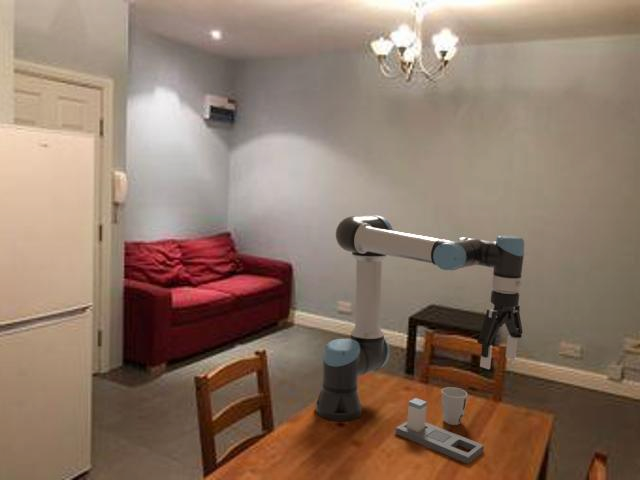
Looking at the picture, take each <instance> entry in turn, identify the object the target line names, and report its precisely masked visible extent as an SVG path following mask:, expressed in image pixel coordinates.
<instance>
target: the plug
mask: <svg viewBox="0 0 640 480" xmlns="http://www.w3.org/2000/svg"><path fill="white" fill-rule="evenodd" d="M427 404H428V402H427V401H426V400H423V399H420V398H418V397H415V398H413V399H411V400H409V401H408V409H407V420H406V422H407V428H408V429H410V430H413V431H415V432H418V433H420V432H421V431H423V430H425V422H426V418H427V407H428V405H427Z"/></svg>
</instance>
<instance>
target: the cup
mask: <svg viewBox="0 0 640 480" xmlns="http://www.w3.org/2000/svg"><path fill="white" fill-rule="evenodd" d="M467 399H468V393H467V391H466V390H465V389H462V388H458V387H444V388H442V389H441V411H442V417H443V420H444V422H445V423H446V424H447V425H451V426H457V425H459V424H461V421H462V420H463V417H464V414H465V409H466V406H467Z"/></svg>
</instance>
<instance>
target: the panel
mask: <svg viewBox="0 0 640 480" xmlns="http://www.w3.org/2000/svg"><path fill="white" fill-rule="evenodd" d="M395 434H396V435H398V436H400V437H402V438H405V439H408V440H410V441H412V442H414V443H417V444H419V445H421V446H424V447H426V448H428V449H431V450H433V451H436V452H437V453H438V452H439V453H440V454H443V455H446V456H447V457H450V458H451V459H454V460H458V461H460V462H462V463H464V464H467V465H468V464H469V463H471V462H472V461H473V460H475V459H476V458H477V457H478V456H479V455H481V454H482V453H484V446H485V445H484V444H483V443H479V442H477V441H474V440H472V439H469V438H467V437H464V436H462V435H459V434H457V433H453V432H452V431H449V430H446V429H443V428H441V427H439V426H436V425H434V424H431V423H428V422H426V421H425V430H423V431H421V432H420V433H418V432H415V431H413V430H410V429H408V428H407V421H405V422H403V423H401V424H399V425H398V426H396V427H395ZM457 447H461V448H464V449H466V450H469V451H465V450H461V449H460V448H457Z"/></svg>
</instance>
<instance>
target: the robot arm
mask: <svg viewBox="0 0 640 480" xmlns="http://www.w3.org/2000/svg"><path fill="white" fill-rule="evenodd" d="M335 239H336V241H337V244H338V246H339V247H340V248H341V249H343V250H344V251H347V252H350V253H351V252H352V253H351V256H353V257H354V259H355V261H356V264H355V265H356V267H355V268H356V269H355V270H356V273H355V305H354V306H355V309H354V310H355V313H354V315H355V316H354V318H355V319H354V328H353V329H352V330H351V331H350V335H349V336H350V338H336V339H332V340H331V341H329V342H328V343H326V345H325V347H324V352H323V356H322V360H323V364H322V384H321V385H322V387H321V390H320V392H319V395H318V397H317V401H316V403H315V412H316V414H317V413H318V414H317V415H319V417H321V418H324V419H326V420H330V421H335V422H348V421H353V420H356V419H358V418H359V417H360V416H361V415H362V408H363V407H362V403H361V400H360V396H359V392H358V386H359V377H361V376H363V375H366V374H369V373H371V372H375V371H377V370H379V369H381V368H382V367H383V366H385V365H386V364H387V362H388V361H389V359H390V354H391V349H390V345H389V343H388V342H387V339H386V338H385V333H384V332H383V330H381V329H380V328H381V302H382V301H381V299H382V298H381V295H382V294H381V293H382V291H381V290H382V269H383V268H382V263H383V262H382V261H383V260H384V259H385V258H386V257H388V256H389V257H393V258H399V259H403V260H409V261H414V262H419V263H424V264H429V265H432V266H433V265H434V266H437V267H438V268H439V269H441V270H443V271H457V270H459V269H463V268H468V267H473V266H480V267H488V268H492V269H493V273H492V274H493V275H492V283H491V288H492V290H491V293H490V302H491V304H493V309H486V314H485V318H484V321H483V324H482V327H481V330H480V333H479V335H478V338H477V342H476V343H477V344H480V345H481V351H480V352H481V353H480V364H479V367H480V368H484V369H486V370H490V369H491V364H492V363H491V362H492V353H493V346H492V344H493V342H494V339H495V337H496V335H497V334H498V331H499V330H500V328H501V327H503V325H504V324H505V327H506V329H507V332H508V334H509V335H507V339H506V348H505V349H506V350H505V358H507V359H509V360H513V361H514V360H516V355H517V345H518V339H521V338H522V334H523V326H522V321H521V315H520V311H521V309H520V307H521V305H519V302H520V292H519V291H520V289H521V285H522V282H521V281H522V272H523V271H522V270H523V265H524V264H523V263H524V256H525V240H524V239H523V238H522V237H520V236H515V235H506V234H505V235H498V236H497V237H496V240H495V241H492V240H487V239H486V240H485V239H480V238H475V237H474V238H473V237H459V238H458V239H457V240H456V241H454V240H448V239H441V238H435V237H431V236H425V235H424V236H423V235H420V234H419V235H418V234H414V233H413V234H412V233H406V232H401V231H394V230H393V227H392V225H391V223H390V222H389V221H388V220H387V218H385V217H383V216H381V215H373V214H371V215H370V214H369V215H359V216H358V215H357V216H348V217H345V218H344V219H343V220H341V221H340V222H339V224H338V225H337V226H336V230H335Z"/></svg>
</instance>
